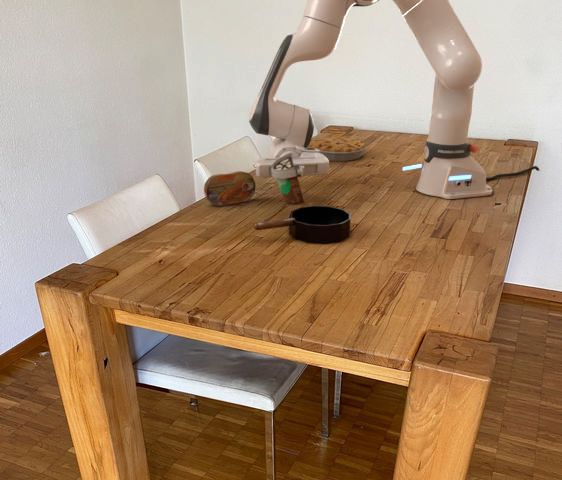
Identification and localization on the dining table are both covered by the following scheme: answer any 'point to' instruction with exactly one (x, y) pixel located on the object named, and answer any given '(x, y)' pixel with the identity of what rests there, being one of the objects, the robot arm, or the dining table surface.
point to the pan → (314, 224)
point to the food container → (287, 180)
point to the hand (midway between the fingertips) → (295, 174)
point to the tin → (229, 188)
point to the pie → (339, 148)
